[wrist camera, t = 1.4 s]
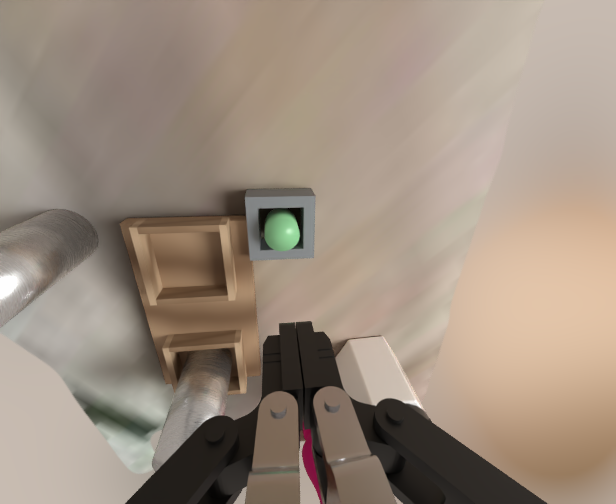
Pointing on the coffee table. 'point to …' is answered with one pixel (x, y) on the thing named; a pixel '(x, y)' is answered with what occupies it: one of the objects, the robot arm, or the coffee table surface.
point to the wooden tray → (197, 290)
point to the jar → (375, 373)
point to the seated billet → (195, 399)
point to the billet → (40, 256)
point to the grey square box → (280, 200)
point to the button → (281, 230)
